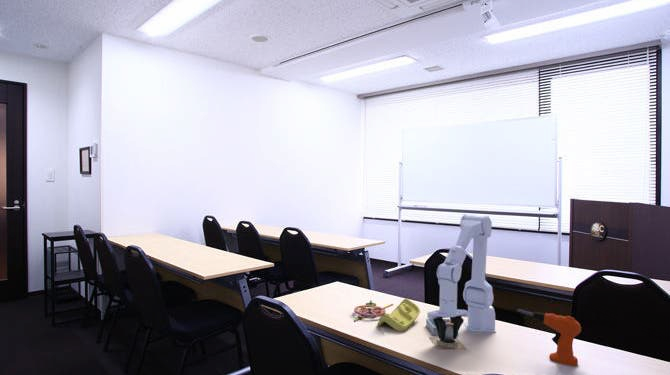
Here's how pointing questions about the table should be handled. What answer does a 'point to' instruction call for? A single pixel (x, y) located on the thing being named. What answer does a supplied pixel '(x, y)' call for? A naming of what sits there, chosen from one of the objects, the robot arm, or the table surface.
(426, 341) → the table surface
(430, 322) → the bin
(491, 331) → the robot arm
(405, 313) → the plastic component
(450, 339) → the cylinder with rectangular bar
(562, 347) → the toy drill
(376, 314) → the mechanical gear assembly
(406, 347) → the table surface
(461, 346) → the socket plate
